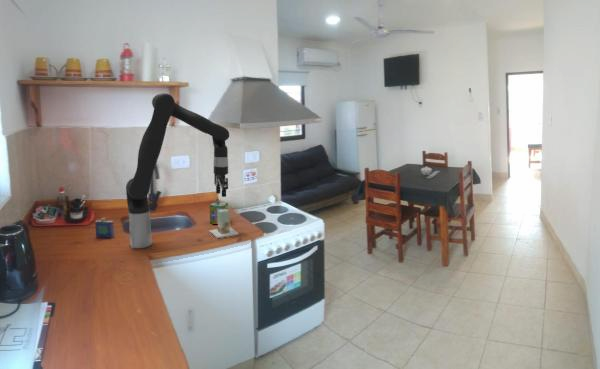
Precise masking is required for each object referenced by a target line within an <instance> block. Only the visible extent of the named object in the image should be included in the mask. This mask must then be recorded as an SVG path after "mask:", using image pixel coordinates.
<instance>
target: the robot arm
mask: <svg viewBox="0 0 600 369" xmlns="http://www.w3.org/2000/svg"><path fill="white" fill-rule="evenodd" d="M151 104H152V108H153V112H152V117H151V118H150V119H151V120H150V122H149V124H148V126H147V128H146V130H145V132H144V133H143V135H142V138H141V142H140V144H139V149H138V153H137V164H136V170H135V173H134V175H133V178H130V179H129V180H128V181H127V183H126V184H125V191H126V192H125V194H126V202H127V203H126V204H127V209H128V221H129V222H128V223H129V227H128V229H129V230H128V231H129V242H130V243H129V245H130V247H131V249H133V250H134V249H144V248H148V247H150V246H152V244H153V243H152V230H151V229H152V228H151V213H150V212H151V211H150V210H151V209H150V204H149V198H148V195H149V193H150V188H151V183H152V179H153V178H152V177H153V174H154V170H155V168H156V165H157V162H158V159H159V156H160V154H161V152H162V148H163V143H164V140H165V137H166V131H167V126H168V124H169V123H170V122H169V121H170V119H171V117H173V118H175V119H177V120H180V121H182V122H183V123H185V124H186V125H188V126H190V127H192V128H194V129H196V130H197V131H200V132H201V133H204V134H208V135H209V136H211V137H212V139H211V140H212V145H213V174H214V176H213V177H214V178H213V179H214V182H213V184H214V186H215V193H216V194H218V195H219V194H221V197H222V198H226V197H227V190H229V179H228V177H226V176H227V175H228V174H229V158H228V157H229V156H228V153H229V152H228V146H227V145H226V141H228V139H229V138H230V132H229V130H228V129H227V128H226V127H224V126H222V125H219V124H218V123H216V122H213V121H212V120H210V119H208V118H207V117H205V116H203V115H201V114H198V113H196V112H194V111H192V110H189V109H187V108H185V107H183V106H181V105H179V104H178V103H177V102H176V101H175V99H174V97H173V96H172V95H171V94H169V93H165V92H164V93H158V94H155V95H154V96H153V98H152V100H151Z"/></svg>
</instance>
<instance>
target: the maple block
mask: <svg viewBox="0 0 600 369" xmlns="http://www.w3.org/2000/svg"><path fill="white" fill-rule="evenodd" d="M230 227H231V221H230V222H225V223H220V222H219V221H218V225H217V229H218V232H219V233H221V234H224V233H230Z"/></svg>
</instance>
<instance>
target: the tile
mask: <svg viewBox="0 0 600 369" xmlns="http://www.w3.org/2000/svg"><path fill="white" fill-rule="evenodd" d="M208 232H211V233H212V234H213V235H214V236H215V237H216V238H221V239H224V238H223V237H227V238H230V237H229V236H233V235H238V234H239V232H238V231H236V230H234V228H232V227H231V226H230V233H224V234H221V233H219V232H218V228H215V229H209V231H208ZM211 233H210V234H211ZM212 234H211V235H212ZM213 235H212V236H213ZM239 235H240V234H239ZM239 235H238V236H239ZM214 236H213V237H214ZM215 237H214V238H215ZM233 237H234V236H233ZM216 238H215V239H216Z"/></svg>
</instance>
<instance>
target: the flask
mask: <svg viewBox="0 0 600 369" xmlns="http://www.w3.org/2000/svg"><path fill="white" fill-rule="evenodd" d="M106 218H107V217H102V218H101V219H97V220H95V222H94V224H95V236H96V238H97V239H101V240H102V239H105V240H106V239H108V240H110V239H111V240H112V239H114V238H115V230H114V221H113V220H106Z"/></svg>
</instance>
